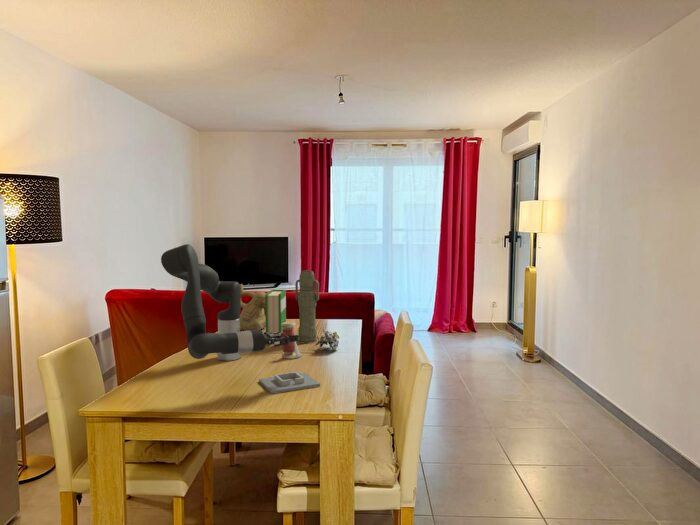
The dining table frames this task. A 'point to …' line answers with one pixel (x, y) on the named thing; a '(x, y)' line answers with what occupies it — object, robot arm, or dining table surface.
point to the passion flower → (329, 340)
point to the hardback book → (275, 310)
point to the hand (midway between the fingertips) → (295, 336)
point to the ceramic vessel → (253, 311)
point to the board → (288, 382)
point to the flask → (296, 351)
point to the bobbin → (290, 347)
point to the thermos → (307, 305)
